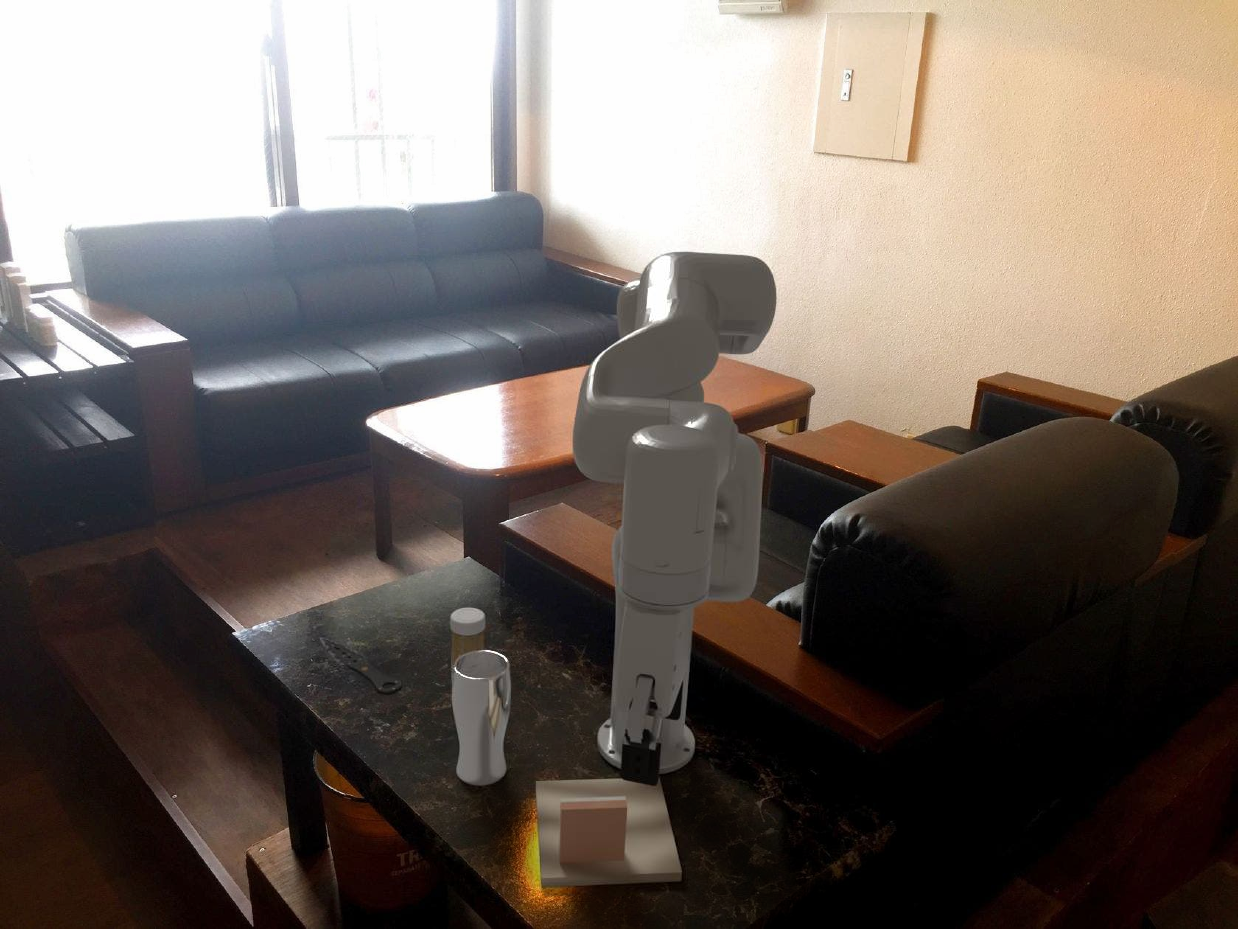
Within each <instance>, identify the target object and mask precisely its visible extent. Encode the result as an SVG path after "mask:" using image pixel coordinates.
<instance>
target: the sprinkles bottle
mask: <svg viewBox="0 0 1238 929" xmlns="http://www.w3.org/2000/svg"><path fill="white" fill-rule="evenodd" d="M449 620H450V628H449V629H450V630H451V656H450V657H451V664H450V665H451V673H450V674H451V686H452V685H453V673H454V663H455V661H456V659H457V658H459V657H460V656H461V655H463V654H465V653H468V652H472V651H479V650H485V646H484V642H485V639H484V638H485V637H484V636H485V635H484V633H485V629H486V615H485V613H484V612H483V610H481V609H478V608H477V607H476V608H474V607H462V608H458V609H455V611H453V612H452V613H451V615H450V619H449ZM450 701H451V703H452V696H451V698H450Z"/></svg>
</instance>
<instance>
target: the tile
mask: <svg viewBox="0 0 1238 929" xmlns="http://www.w3.org/2000/svg"><path fill="white" fill-rule="evenodd" d="M626 822H627V802H626V797H625V796H620V797H591V798H561V799H560V821H559V849H558V853H559V863H576V862H600V861H624V853H625V838H626Z"/></svg>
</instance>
